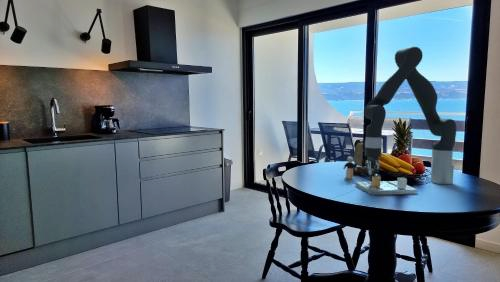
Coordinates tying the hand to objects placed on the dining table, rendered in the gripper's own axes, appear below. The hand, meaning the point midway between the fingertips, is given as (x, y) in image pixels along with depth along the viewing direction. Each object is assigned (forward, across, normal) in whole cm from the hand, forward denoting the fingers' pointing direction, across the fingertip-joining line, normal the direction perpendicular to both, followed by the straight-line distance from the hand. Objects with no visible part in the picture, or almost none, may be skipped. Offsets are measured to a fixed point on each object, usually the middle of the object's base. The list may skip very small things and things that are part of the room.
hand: (372, 181), depth 161 cm
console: (+3, -3, -5) cm, 7 cm away
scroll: (+4, +34, -9) cm, 35 cm away
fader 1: (+1, -4, 0) cm, 4 cm away
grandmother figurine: (+4, +21, +3) cm, 21 cm away
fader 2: (+1, -9, -10) cm, 13 cm away
